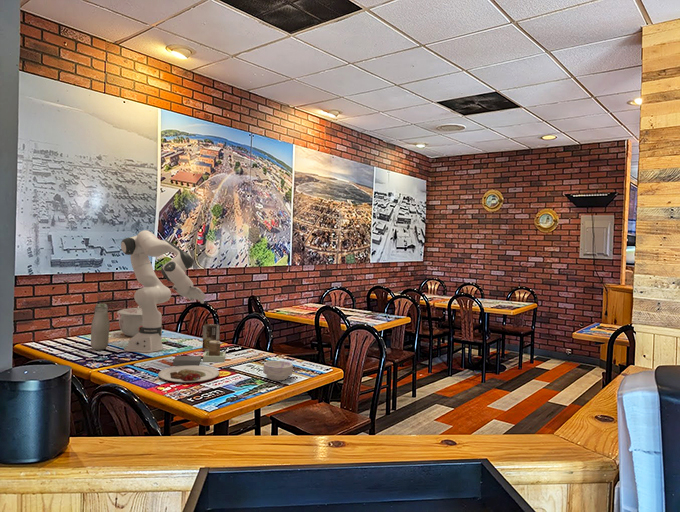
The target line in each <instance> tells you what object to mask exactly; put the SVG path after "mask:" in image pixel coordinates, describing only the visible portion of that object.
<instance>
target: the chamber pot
mask: <svg viewBox="0 0 680 512" xmlns="http://www.w3.org/2000/svg"><path fill="white" fill-rule="evenodd" d="M116 313H117V314H118V315H119V314H120V316H119V318H118V324H119V329H120V331H121V332H122V333H123V334H124V336H126V337H131V338H132V337H133V336H135V335H136V334H138V333H139V327H140V326H142V324H143V315H142V310H141V307H140V306H139V305H138V306H137V307H129V308H124V309H123V308H122V309H120V310H117V312H116Z"/></svg>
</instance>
